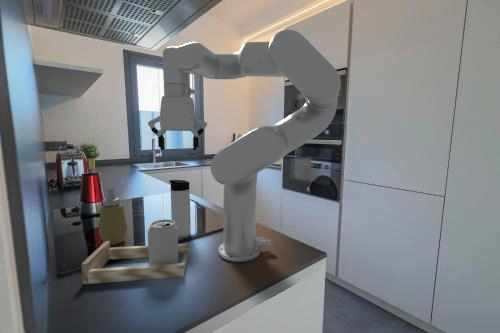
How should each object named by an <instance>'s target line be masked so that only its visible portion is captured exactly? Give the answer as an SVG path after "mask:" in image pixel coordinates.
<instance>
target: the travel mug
mask: <svg viewBox="0 0 500 333" xmlns="http://www.w3.org/2000/svg"><path fill="white" fill-rule="evenodd" d="M168 181H169V183H170V211H171V220H173V221H175V225H176V226H177V227H178V240H184V239H183V238H186V239H188V238H190V237H191V235H192V230H191V192H190V181H187V180H183V179H170V180H168ZM189 236H190V237H189ZM187 237H188V238H187Z"/></svg>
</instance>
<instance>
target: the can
mask: <svg viewBox="0 0 500 333" xmlns="http://www.w3.org/2000/svg"><path fill="white" fill-rule="evenodd" d="M178 244H179V239H178V227H177V226H176V225H175V221H173V220H172V219H170V218H169V219H166V218H164V219H158V220H154V221H153V222H151V223H150V224H149V228H147V246H148V251H149V257H148V265H160V264H176V263H179V261H180V260H179V258H180V257H179V255H178Z"/></svg>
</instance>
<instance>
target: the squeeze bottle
mask: <svg viewBox="0 0 500 333" xmlns="http://www.w3.org/2000/svg"><path fill="white" fill-rule="evenodd" d="M125 213H126V212H125V208H124V205H123V204H122V203H121V200H120V197H117V196H116V193H115V191H114V187H108V189H107V196H106V198H104V199H103V200H102V206H101V207H100V209H99V222H98V223H99V224H98V225H99V228H98V234H99V237H100V239H101V241H102V244H103V243H104V242H105V241H110V246H115V245H119V244H122V243H123V242H124V241H125V238H126V236H127V232H128V225H127V219H126V214H125Z"/></svg>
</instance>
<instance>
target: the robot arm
mask: <svg viewBox="0 0 500 333" xmlns="http://www.w3.org/2000/svg"><path fill="white" fill-rule="evenodd" d="M162 71H163V72H162V73H163V75H162V76H163V96H161V100H160V110H159V111H160V112H159V115H158V116H157V117H155V118H153V119H151V120H149V121H148V122H147V125H148V126H149V128H150V130H151V131H152V133H154V135H156V137H157V144H158V147H157V148H160V149H159V150H160V151H164V150H166V146H165V145H166V144H165V143H166V142H165V140H166V139H165V136H164V135H165V133H166V132H167V131H169V132H172V131H174V132H179V131H180V132H191V133H192V134H193V138H192V143H193V144H192V146H193V151H197V148H199V137H200V136H201V135H202V134H203V133H204V131H205V130H206V128H207V125H208V123H207V122H205V121H204V120H202V119H200V118H198V117H197V116H196V110H195V109H196V108H195V101H194V98H193V97H191V96H192V95H195V94H196V88H195V89H193V88H191V75H190V74H191V73H190V72H192V73H194V74H197V75H199V76H201V77H203V78H205V79H209V80H236V79H237V80H238V79H242V78H247V77H271V78H272V77H275V78H281V77H282V78H286V79H288V81H289V82H290V83H291V84H292V85H293V86H294V87H295V88H296V89H297V90H298V91H299V92H300V94H302V96H303V97H304V99H305V103H304V105H302V107H301V108H299V109H298V110H297V111H296V110H295V111H294V112H292V113H291V114H289V115H288V116H286V117H284V118H283V119H282V120H280V121H278V122H277V123H274V124H273V125H270V126H269V125H263V126H258V127H256V128H254V129H251V130H250V131H249V132H247V133H245V134H244V135H242V136H240V137H239V138H237V139H236V140H234V141H233V142H231V143H229V144H228V145H226V146H225V147H223V148H222V149H220V150H219V151H217V152H216V154H214V156H213V157H212V159H211V162H210V173H211V176H212V178H213V179H214V180H215V181H216V182H217V183H219V184H221V185H223V198H222V199H223V242H222V243H221V244H220V245H219V246H218V255H219V256H220V257H221V258H222V259H224V260H225V261H229V262H235V263H240V262H241V263H243V262H249V261H252V260H254V259H256V258H258V257H259V255H260V254H261V248H262V247H271V246H272V240H271V239H266V237H265V236H264V237H263V236H261V237H258V236H257V235H256V226H257V225H256V223H257V222H256V221H257V220H256V216H257V213H256V209H257V208H256V206H257V205H256V204H257V181H258V174H259V172H262V171H263V170H265V169H267V168H268V167H271V166H272V165H274V164H276V163H278V162H279V161H280V160H282V159H283V158H284V157H286V155H288V154H289V153H291V152H293V151H295V150H296V149H298V148H300V147H302V146H303V145H305V144H306V143H308V142H309V141H311V140H312V139H314V138H316V137H317V136H319V135H320V134H322V133H323V132H324V131H325V130H326V129H327V128H328V127H329V125H331V123H332V122H333V119H334V117H335V115H336V112H337V108H338V107H337V106H338V97H339V94H340V92H341V88H342V83H341V82H342V80H341V77H340V74H339V72H338V70H337V69H336V68H335V67H334V66H333V64H332V63H331V62H330V61H329V60H328V59H327V58H326V57H325V56H324V55H322V54H321V52H320V51H318V49H317V48H316V47H315V46H313V44H312V43H311V42H310V41H309V40H308V39H307V38H306V37H305V36H304V35H303V34H301V33H300V32H299V31H297V30H294V29H290V28H288V29H282V30H280V31H278V32H276V33H275V34H274V36H273V37H272V38H271V40H270V41H246V42H245V43H243V44H242V46H241V48H240V49H239V51H237V52H234V53H226V54H225V53H224V54H223V53H222V54H220V53H214V52H212V51H211V50H210V49H209V48H207V47H206V46H204V45H203V44H202V43H200V42H197V41H192V42H188V43H185V44H183V45H179V46H167V47H165V48H164V49H163V51H162ZM157 123H159V127H160V129H159V130H158V129H157V127H156V126H155V124H157ZM196 123H198V124H200V125H201V127H200V129H199V130H196V126H197V125H196Z"/></svg>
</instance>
